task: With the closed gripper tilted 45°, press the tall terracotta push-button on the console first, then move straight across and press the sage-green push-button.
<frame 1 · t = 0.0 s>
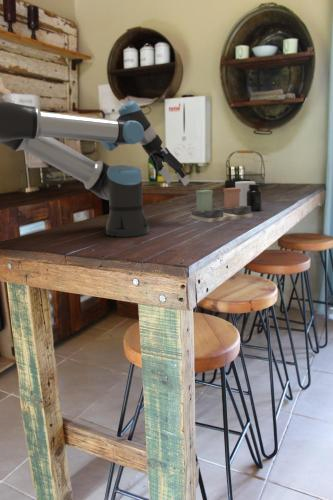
hand: (178, 182, 175), 15 cm above the table, tool tilted 35°, fingers open, 13 cm apart
terracotta button: (231, 200, 185), point 7 cm above the table, slide at 0.0 cm
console: (221, 217, 181), on the table
supplement bottle: (253, 211, 199), on the table
sage button: (204, 202, 179), point 7 cm above the table, slide at 0.0 cm
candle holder: (244, 207, 213), on the table
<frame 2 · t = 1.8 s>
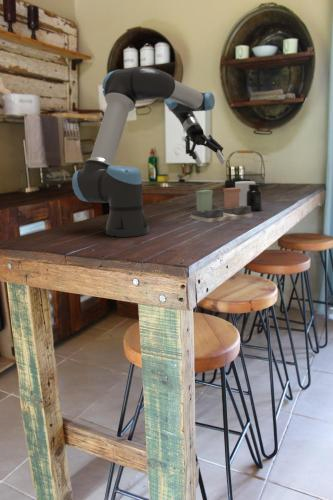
hand: (211, 163, 194), 22 cm above the table, tool tilted 45°, fingers open, 12 cm apart
nothing on the table moved.
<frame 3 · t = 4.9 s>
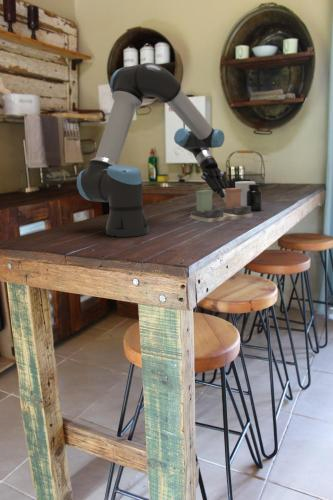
hand: (228, 202, 187), 5 cm above the table, tool tilted 45°, fingers closed
terracotta button: (233, 200, 184), point 7 cm above the table, slide at 0.9 cm, touching gripper
everything else where it was.
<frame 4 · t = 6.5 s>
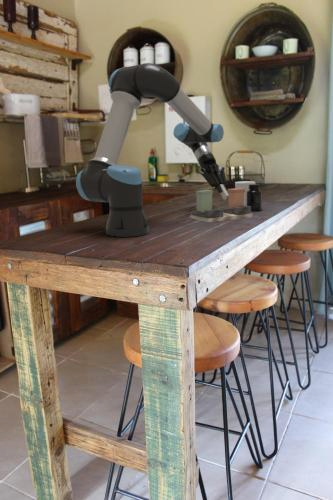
hand: (226, 197, 188), 7 cm above the table, tool tilted 45°, fingers closed
terracotta button: (236, 200, 182), point 7 cm above the table, slide at 3.1 cm
everything else where it was.
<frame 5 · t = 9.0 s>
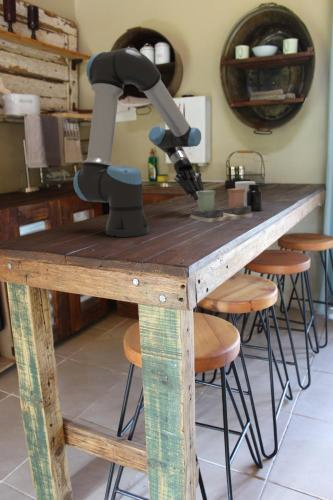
hand: (202, 205, 180), 5 cm above the table, tool tilted 45°, fingers closed
sage button: (206, 203, 177), point 7 cm above the table, slide at 1.7 cm, touching gripper
everything else where it was.
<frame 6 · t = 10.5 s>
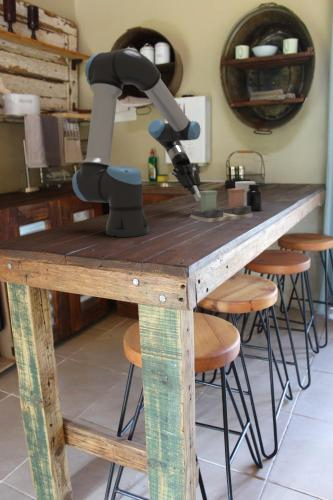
hand: (199, 199, 182), 8 cm above the table, tool tilted 45°, fingers closed
sage button: (208, 203, 176), point 7 cm above the table, slide at 3.1 cm
everything else where it was.
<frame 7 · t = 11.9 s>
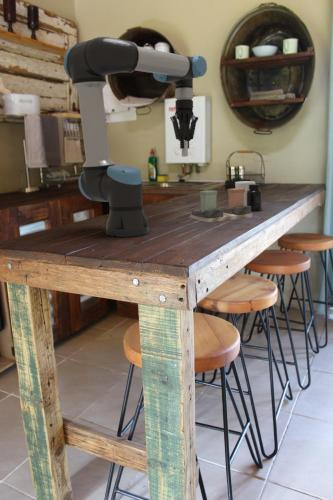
hand: (184, 156, 189), 25 cm above the table, tool pointing down, fingers closed
nothing on the table moved.
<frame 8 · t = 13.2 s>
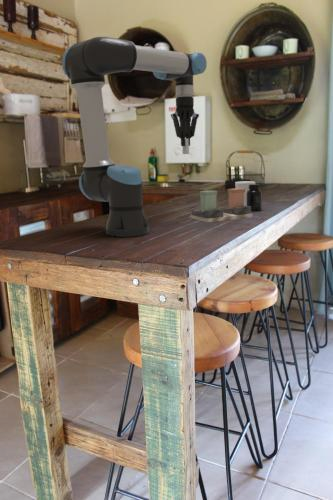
hand: (185, 153, 188), 26 cm above the table, tool pointing down, fingers closed
nothing on the table moved.
at the end: terracotta button slide at 3.1 cm; sage button slide at 3.1 cm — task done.
